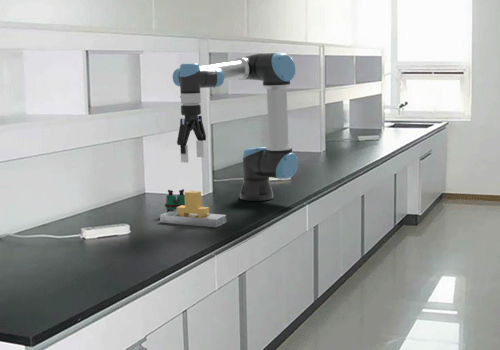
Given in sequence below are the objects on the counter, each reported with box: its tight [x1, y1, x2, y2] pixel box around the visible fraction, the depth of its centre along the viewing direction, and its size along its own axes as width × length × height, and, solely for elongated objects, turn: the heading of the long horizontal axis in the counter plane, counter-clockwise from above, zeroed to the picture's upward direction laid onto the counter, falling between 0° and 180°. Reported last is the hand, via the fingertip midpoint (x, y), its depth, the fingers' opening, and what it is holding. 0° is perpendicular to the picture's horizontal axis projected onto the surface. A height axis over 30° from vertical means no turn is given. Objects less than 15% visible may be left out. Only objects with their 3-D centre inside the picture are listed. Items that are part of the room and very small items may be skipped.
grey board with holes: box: [159, 210, 227, 228], centre depth 276 cm, size 9×24×3 cm, turn 67°
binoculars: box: [164, 188, 185, 212], centre depth 292 cm, size 9×11×10 cm
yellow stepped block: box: [176, 190, 210, 218], centre depth 276 cm, size 12×4×12 cm, turn 67°
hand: (192, 159), depth 276 cm, fingers open, 13 cm apart
